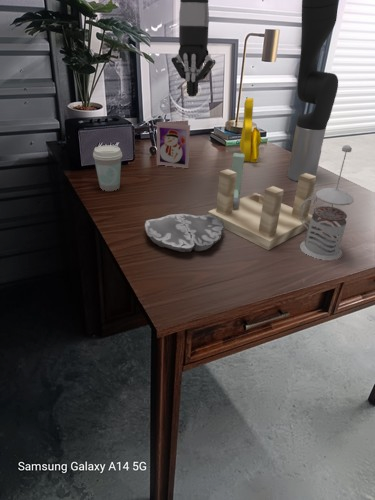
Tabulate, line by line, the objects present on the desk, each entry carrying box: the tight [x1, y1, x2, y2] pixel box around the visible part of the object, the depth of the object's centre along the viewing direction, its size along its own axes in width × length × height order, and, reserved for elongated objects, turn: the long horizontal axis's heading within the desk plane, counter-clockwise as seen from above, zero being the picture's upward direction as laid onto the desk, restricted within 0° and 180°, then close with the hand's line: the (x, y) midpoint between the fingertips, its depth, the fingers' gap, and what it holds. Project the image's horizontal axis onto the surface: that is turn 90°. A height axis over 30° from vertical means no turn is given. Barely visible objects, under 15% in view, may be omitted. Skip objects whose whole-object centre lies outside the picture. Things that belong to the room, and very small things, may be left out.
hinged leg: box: [231, 152, 245, 209], centre depth 106 cm, size 13×3×11 cm, turn 173°
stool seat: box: [207, 168, 317, 251], centre depth 100 cm, size 20×20×14 cm
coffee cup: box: [92, 145, 123, 192], centre depth 116 cm, size 8×8×12 cm
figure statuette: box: [239, 97, 262, 163], centre depth 141 cm, size 18×8×22 cm, turn 174°
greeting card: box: [156, 119, 191, 169], centre depth 135 cm, size 11×7×15 cm, turn 77°
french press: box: [299, 144, 355, 261], centre depth 86 cm, size 10×12×25 cm
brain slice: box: [144, 213, 225, 253], centre depth 93 cm, size 20×17×3 cm
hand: (192, 95), depth 108 cm, fingers closed
